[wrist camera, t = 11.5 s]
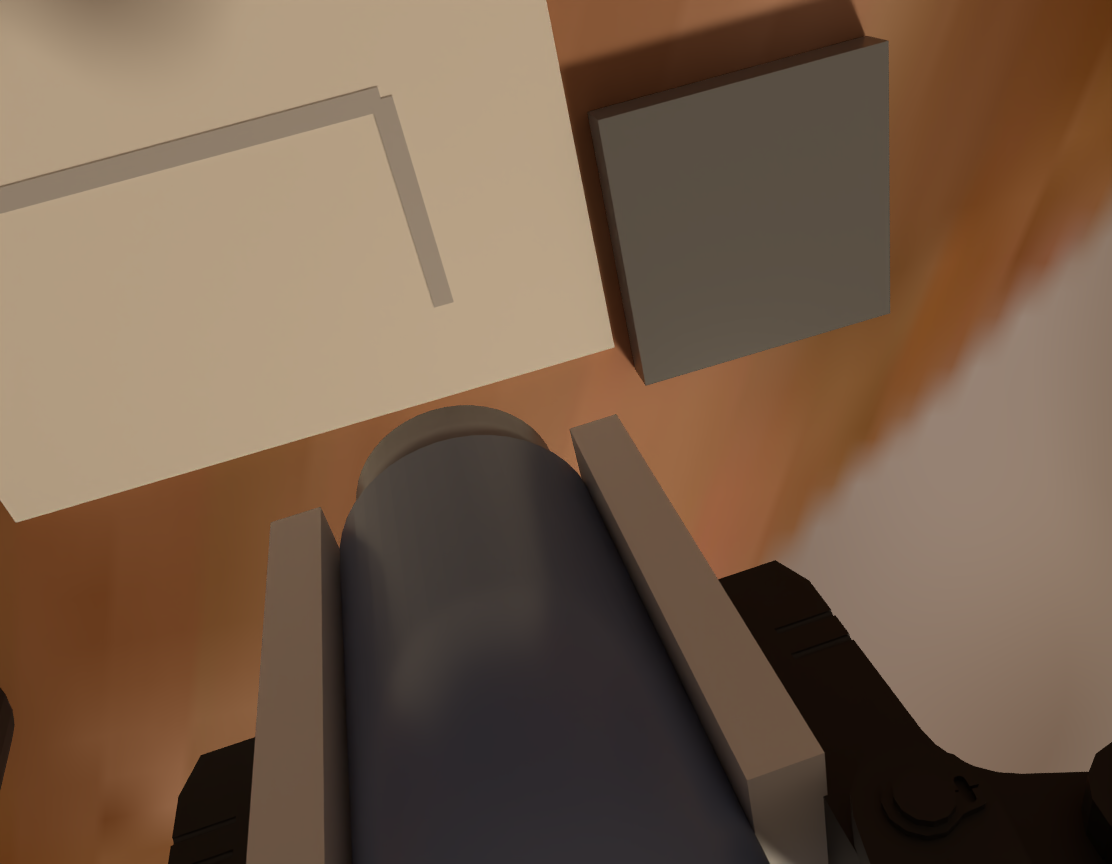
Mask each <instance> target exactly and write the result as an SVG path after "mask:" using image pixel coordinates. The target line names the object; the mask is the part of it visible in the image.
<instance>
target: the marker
mask: <svg viewBox="0 0 1112 864" xmlns="http://www.w3.org/2000/svg"><path fill="white" fill-rule="evenodd" d="M340 576H341V600H342V625H343V650H344V674H345V699H346V724H347V748H348V773H349V798H350V822H351V847H352V864H770V863H769V861H768V858H767V856H766V854H765V852H764V850H763V848H762V846H761V844H760V842H759V841H758V839H757V837H756V835H755V833H754V831H753V829H752V827H751V825H750V823H749V821H748V818H747V816H746V814H745V812H744V810H743V808H742V806H741V804H740V802H739V800H738V798H737V796H736V794H735V792H734V790H733V788H732V785H731V783H730V781H729V779H728V777H727V775H726V773H725V771H724V769H723V767H722V765H721V763H720V761H719V759H718V757H717V755H716V752H715V750H714V748H713V746H712V744H711V742H710V740H709V738H708V736H707V734H706V732H705V730H704V728H703V726H702V724H701V721H700V719H699V717H698V715H697V713H696V711H695V709H694V707H693V705H692V703H691V701H690V699H689V697H688V695H687V693H686V691H685V688H684V686H683V684H682V682H681V680H680V678H679V676H678V674H677V672H676V670H675V668H674V666H673V664H672V662H671V660H670V658H669V655H668V653H667V651H666V649H665V647H664V645H663V643H662V641H661V639H660V637H659V635H658V633H657V631H656V629H655V627H654V625H653V622H652V620H651V618H650V616H649V614H648V612H647V610H646V608H645V606H644V604H643V602H642V600H641V598H640V596H639V594H638V592H637V589H636V587H635V585H634V583H633V581H632V579H631V577H630V575H629V573H628V571H627V569H626V567H625V565H624V563H623V561H622V558H621V556H620V554H619V552H618V550H617V548H616V546H615V544H614V542H613V540H612V538H611V536H610V534H609V532H608V530H607V528H606V525H605V523H604V521H603V519H602V517H601V515H600V513H599V511H598V509H597V507H596V505H595V503H594V501H593V499H592V497H591V495H590V492H589V490H588V488H587V486H586V484H585V483H584V481H583V480H582V479H581V477H580V476H579V475H578V473H577V472H576V471H575V470H574V469H573V468H572V467H571V466H570V465H569V464H568V463H567V462H566V461H564V460H563V459H561V458H560V457H559V456H557V455H556V454H554V453H553V452H551V451H550V450H549V448H548V447H547V445H546V443H545V442H544V441H543V439H542V438H541V437H540V435H539V434H538V433H537V432H536V431H535V430H534V429H533V428H532V427H530V426H529V425H527V424H526V423H525V422H523V421H522V420H520V419H518V418H516V417H515V416H513V415H511V414H508V413H506V412H503V411H500V410H497V409H493V408H488V407H482V406H473V405H465V406H451V407H444V408H440V409H436V410H432V411H429V412H426V413H423V414H421V415H418V416H416V417H414V418H412V419H410V420H408V421H406V422H404V423H403V424H401V425H400V426H398V427H397V428H395V429H394V430H393V431H392V432H390V433H389V434H388V435H387V436H386V437H385V438H383V440H382V441H381V442H380V443H379V444H378V445H377V446H376V447H375V448H374V450H373V451H372V453H371V454H370V456H369V457H368V459H367V461H366V463H365V465H364V467H363V469H362V471H361V474H360V477H359V481H358V486H357V492H356V502H355V504H354V505H353V507H352V509H351V511H350V513H349V515H348V517H347V519H346V523H345V526H344V529H343V532H342V537H341V543H340Z"/></svg>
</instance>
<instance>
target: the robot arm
mask: <svg viewBox="0 0 1112 864" xmlns="http://www.w3.org/2000/svg"><path fill="white" fill-rule="evenodd" d="M570 433H571V437H572V441H573V445H574V449H575V453H576V457H577V462H578V466H579V470H580V474H581V478H582V480H583V481H584V483H585V484H586V486H587V488H588V490H589V492H590V495H591V497H592V499H593V501H594V503H595V505H596V507H597V509H598V511H599V513H600V515H601V517H602V519H603V521H604V523H605V525H606V528H607V530H608V532H609V534H610V536H611V538H612V540H613V542H614V544H615V546H616V548H617V550H618V552H619V554H620V556H621V558H622V561H623V563H624V565H625V567H626V569H627V571H628V573H629V575H630V577H631V579H632V581H633V583H634V585H635V587H636V589H637V592H638V594H639V596H640V598H641V600H642V602H643V604H644V606H645V608H646V610H647V612H648V614H649V616H650V618H651V620H652V622H653V625H654V627H655V629H656V631H657V633H658V635H659V637H660V639H661V641H662V643H663V645H664V647H665V649H666V651H667V653H668V655H669V658H670V660H671V662H672V664H673V666H674V668H675V670H676V672H677V674H678V676H679V678H680V680H681V682H682V684H683V686H684V688H685V691H686V693H687V695H688V697H689V699H690V701H691V703H692V705H693V707H694V709H695V711H696V713H697V715H698V717H699V719H700V721H701V724H702V726H703V728H704V730H705V732H706V734H707V736H708V738H709V740H710V742H711V744H712V746H713V748H714V750H715V752H716V755H717V757H718V759H719V761H720V763H721V765H722V767H723V769H724V771H725V773H726V775H727V777H728V779H729V781H730V783H731V785H732V788H733V790H734V792H735V794H736V796H737V798H738V800H739V802H740V804H741V806H742V808H743V810H744V812H745V814H746V816H747V818H748V821H749V823H750V825H751V827H752V829H753V831H754V833H755V835H756V837H757V839H758V841H759V842H760V844H761V846H762V848H763V850H764V852H765V854H766V856H767V858H768V861H769V863H770V864H1112V742H1111V743H1110V744H1109V745H1107V746H1106V747H1105V748H1103V749H1102V750H1101V751H1099V752H1098V753H1096V755H1095V757H1094V760H1093V763H1092V765H1091V768H1090V770H1089V772H1067V773H1034V774H1015V773H1001V772H1000V773H999V772H995V771H990V770H987V769H983V768H979V767H975V766H972V765H970V764H968V763H966V762H964V761H962V760H961V759H959V758H958V757H956V756H955V755H954V754H950V753H947V752H946V751H944V750H943V749H941V748H940V747H939V746H937V745H935V744H934V742H933V741H932V740H931V739H930V738H929V737H928V736H927V735H926V734H925V733H924V732H923V731H922V730H921V729H920V727H919V726H918V725H917V723H916V722H915V721H914V719H913V718H912V717H911V715H910V714H909V713H908V711H907V710H906V709H905V707H904V706H903V705H902V703H901V702H900V701H899V699H898V698H897V697H896V695H895V694H894V693H893V692H892V690H891V689H890V687H889V686H888V685H887V683H886V682H885V681H884V679H883V678H882V677H881V675H880V674H879V673H878V671H877V670H876V669H875V668H874V666H873V665H872V663H871V662H870V661H869V659H868V658H867V657H866V655H865V654H864V653H863V651H862V650H861V649H860V648H859V646H858V645H857V644H856V642H855V641H854V640H851V638H850V636H849V633H848V632H847V630H846V629H845V628H844V626H843V625H842V624H841V622H840V621H839V620H838V618H837V617H836V616H833V615H832V612H831V609H830V608H829V606H828V605H827V604H826V602H825V601H824V600H823V598H822V597H821V596H820V594H819V593H818V592H817V591H816V589H815V588H814V586H813V585H812V584H811V582H810V581H809V580H807V579H806V578H804V577H802V576H801V575H799V574H797V573H796V572H794V571H792V570H791V569H789V568H787V567H786V566H784V565H782V564H781V563H779V562H777V561H776V560H775V561H772V562H769V563H766V564H763V565H760V566H757V567H754V568H751V569H748V570H745V571H742V572H739V573H736V574H733V575H730V576H727V577H724V578H721V579H717V577H716V575H715V574H714V572H713V571H712V569H711V567H710V566H709V564H708V562H707V561H706V559H705V558H704V556H703V554H702V553H701V551H700V549H699V548H698V546H697V545H696V543H695V541H694V540H693V538H692V536H691V535H690V533H689V532H688V530H687V528H686V527H685V525H684V523H683V522H682V520H681V519H680V517H679V515H678V514H677V512H676V510H675V509H674V507H673V506H672V504H671V502H670V501H669V499H668V497H667V496H666V494H665V493H664V491H663V489H662V488H661V486H660V484H659V483H658V481H657V480H656V478H655V476H654V475H653V473H652V471H651V470H650V468H649V467H648V465H647V463H646V462H645V460H644V458H643V457H642V455H641V454H640V452H639V450H638V449H637V447H636V445H635V444H634V442H633V441H632V439H631V437H630V436H629V434H628V432H627V431H626V429H625V428H624V426H623V424H622V423H621V421H620V419H619V418H618V416H617V415H616V414H615V415H612V416H609V417H606V418H603V419H599V420H596V421H593V422H590V423H587V424H583V425H580V426H577V427H574V428H571V429H570ZM172 838H173V841H174V845H173V846H171V849H170V855H169V862H168V864H352V847H351V822H350V798H349V773H348V748H347V724H346V699H345V674H344V650H343V625H342V600H341V576H340V549H339V547H338V545H337V542H336V540H335V538H334V536H333V533H332V531H331V529H330V527H329V525H328V522H327V520H326V518H325V516H324V513H323V511H322V509H321V507H319V508H315V509H312V510H309V511H306V512H303V513H300V514H296V515H293V516H290V517H287V518H284V519H280V520H277V521H274V522H271V527H270V541H269V555H268V568H267V582H266V596H265V610H264V624H263V637H262V651H261V665H260V679H259V693H258V707H257V720H256V734H255V737H254V738H251V739H248V740H245V741H242V742H239V743H236V744H233V745H230V746H227V747H224V748H221V749H218V750H215V751H212V752H209V753H206V754H203V755H201V756H200V758H199V760H198V762H197V764H196V765H195V767H194V769H193V771H192V773H191V775H190V776H189V778H188V780H187V782H186V784H185V786H184V788H183V789H182V791H181V793H180V795H179V797H178V804H177V810H176V817H175V823H174V830H173V836H172Z"/></svg>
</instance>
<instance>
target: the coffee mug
mask: <svg viewBox="0 0 1112 864" xmlns="http://www.w3.org/2000/svg"><path fill="white" fill-rule="evenodd" d="M13 731H14V718H13V711H12V708H11V706H10V704H9V701H8V699H7V697H6V695H5V693H4V692H3V691H2V690H1V688H0V789H1V785H2V780H3V776H4V772H5V768H6V763H7V759H8V755H9V751H10V746H11V742H12V737H13Z"/></svg>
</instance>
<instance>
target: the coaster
mask: <svg viewBox="0 0 1112 864" xmlns="http://www.w3.org/2000/svg"><path fill="white" fill-rule="evenodd" d="M587 113H588V119H589V124H590V129H591V135H592V140H593V146H594V151H595V156H596V162H597V167H598V172H599V178H600V183H601V189H602V194H603V199H604V205H605V210H606V216H607V221H608V226H609V232H610V237H611V243H612V248H613V253H614V259H615V264H616V269H617V275H618V280H619V286H620V291H621V296H622V302H623V307H624V313H625V318H626V323H627V329H628V334H629V339H630V345H631V350H632V356H633V361H634V366H635V370H636V372H637V373H638V375H639V376H640V378H641V379H642V381H643V382H644V384H645V385H650V384H653V383H656V382H660V381H663V380H666V379H670V378H673V377H676V376H680V375H683V374H687V373H690V372H693V371H697V370H700V369H703V368H707V367H710V366H714V365H717V364H720V363H724V362H727V361H730V360H734V359H737V358H740V357H744V356H747V355H751V354H754V353H757V352H761V351H764V350H767V349H771V348H774V347H778V346H781V345H784V344H788V343H791V342H794V341H798V340H801V339H804V338H808V337H811V336H815V335H818V334H821V333H825V332H828V331H831V330H835V329H838V328H842V327H845V326H848V325H852V324H855V323H858V322H862V321H865V320H868V319H872V318H875V317H879V316H882V315H885V314H889V313H890V220H889V50H888V41H887V40H883V39H879V38H874V37H870V36H864V37H860V38H856V39H853V40H849V41H845V42H842V43H838V44H835V45H831V46H827V47H824V48H820V49H816V50H813V51H809V52H805V53H802V54H798V55H794V56H791V57H787V58H783V59H780V60H776V61H772V62H769V63H765V64H761V65H758V66H754V67H750V68H747V69H743V70H739V71H736V72H732V73H728V74H725V75H721V76H717V77H714V78H710V79H706V80H703V81H699V82H695V83H692V84H688V85H684V86H681V87H677V88H674V89H670V90H666V91H663V92H659V93H655V94H652V95H648V96H644V97H641V98H637V99H633V100H630V101H626V102H622V103H619V104H615V105H611V106H608V107H604V108H600V109H597V110H593V111H589V112H587Z"/></svg>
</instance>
